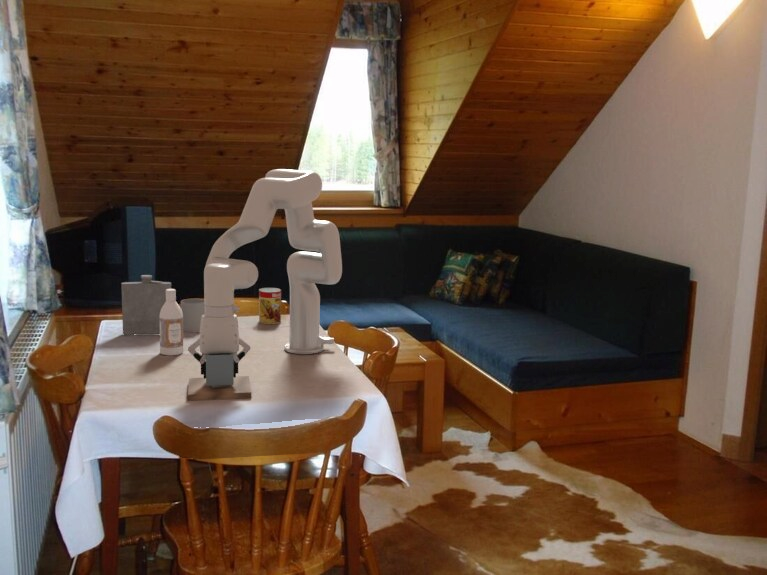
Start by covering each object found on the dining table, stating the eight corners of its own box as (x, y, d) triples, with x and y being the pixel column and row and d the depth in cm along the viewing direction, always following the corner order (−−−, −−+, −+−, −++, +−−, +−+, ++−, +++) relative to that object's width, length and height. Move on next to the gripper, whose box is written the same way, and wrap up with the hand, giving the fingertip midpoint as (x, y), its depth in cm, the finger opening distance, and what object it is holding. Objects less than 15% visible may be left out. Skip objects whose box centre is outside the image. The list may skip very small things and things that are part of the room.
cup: (211, 328, 267) (210, 301, 266) (193, 333, 261) (193, 304, 259) (193, 325, 272) (193, 297, 270) (176, 329, 265) (175, 301, 263)
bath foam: (164, 357, 231) (162, 292, 228) (157, 351, 237) (155, 288, 233) (186, 354, 235) (185, 290, 231) (179, 349, 241) (178, 286, 237)
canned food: (279, 324, 277) (279, 292, 275) (257, 323, 277) (257, 291, 275) (282, 319, 285) (282, 288, 282) (261, 318, 285) (261, 287, 282)
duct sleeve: (232, 376, 207) (232, 348, 205) (233, 384, 200) (233, 355, 198) (206, 377, 205) (205, 348, 203) (206, 385, 198) (205, 356, 197)
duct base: (248, 381, 211) (248, 355, 210) (251, 397, 198) (251, 370, 196) (189, 383, 208) (188, 356, 206) (187, 400, 194) (187, 372, 193)
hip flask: (122, 335, 255) (120, 276, 251) (123, 332, 258) (122, 274, 255) (171, 334, 258) (170, 276, 254) (172, 331, 262) (171, 274, 258)
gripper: (252, 307, 204) (252, 371, 208) (185, 308, 201) (186, 373, 204) (253, 313, 197) (253, 379, 201) (184, 314, 193) (185, 382, 197)
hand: (219, 376), depth 202 cm, fingers closed on duct sleeve, 7 cm apart
